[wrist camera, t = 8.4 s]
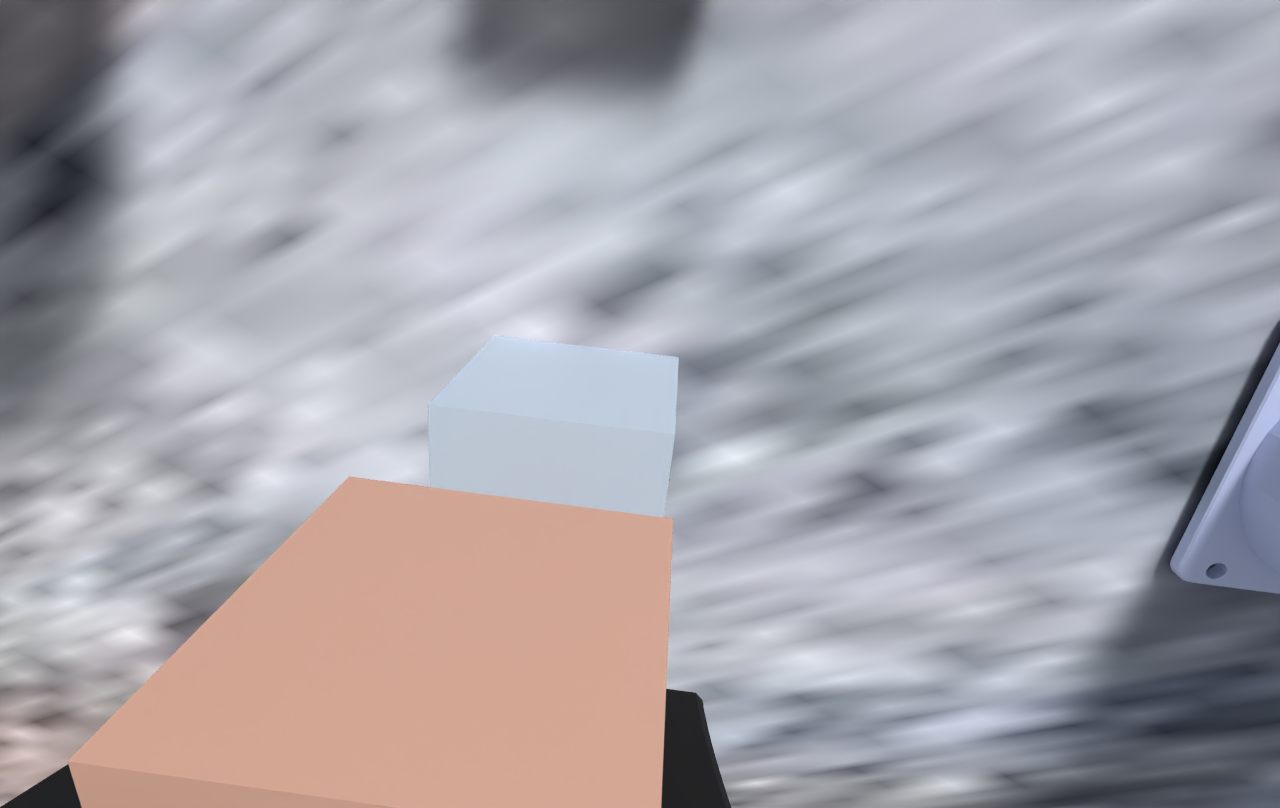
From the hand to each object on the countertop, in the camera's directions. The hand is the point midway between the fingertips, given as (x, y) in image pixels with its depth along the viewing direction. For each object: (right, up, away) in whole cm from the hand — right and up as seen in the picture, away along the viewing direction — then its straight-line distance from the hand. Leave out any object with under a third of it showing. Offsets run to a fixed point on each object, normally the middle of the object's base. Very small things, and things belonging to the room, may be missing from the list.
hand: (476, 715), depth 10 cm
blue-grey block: (+1, +4, +9) cm, 10 cm away
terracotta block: (0, +1, +1) cm, 2 cm away
